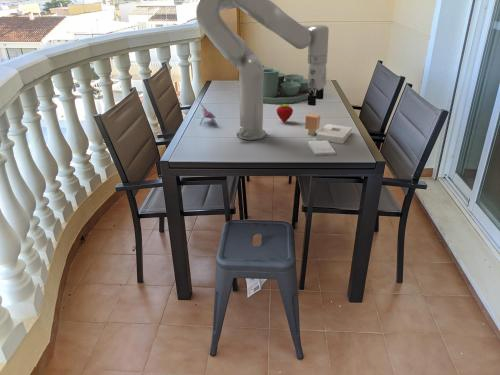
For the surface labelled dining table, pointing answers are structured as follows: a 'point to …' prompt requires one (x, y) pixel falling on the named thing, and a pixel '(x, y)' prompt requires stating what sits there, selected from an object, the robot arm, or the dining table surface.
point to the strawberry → (284, 112)
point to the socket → (334, 133)
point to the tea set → (283, 87)
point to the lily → (207, 113)
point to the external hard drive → (321, 148)
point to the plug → (312, 123)
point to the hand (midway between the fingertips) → (315, 102)
